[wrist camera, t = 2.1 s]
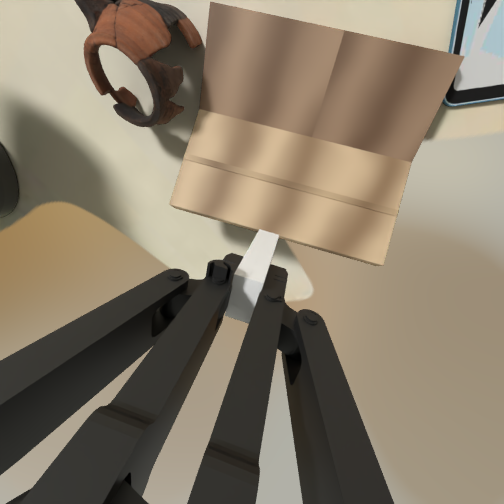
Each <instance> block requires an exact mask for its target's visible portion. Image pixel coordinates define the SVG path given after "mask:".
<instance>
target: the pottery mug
mask: <svg viewBox="0 0 504 504" xmlns="http://www.w3.org/2000/svg"><path fill="white" fill-rule="evenodd" d="M75 2H76V4H77V5H78V6H79V8H80V9H81V11H82V12H83V14H84V15H85V17H86V19H87V21H88V24H89V27H90V31H91V32H92V33H91V34H90V35H89V36H88V37H87V39H86V41H85V43H84V58H85V64H86V67H87V70H88V72H89V75H90V77H91V79H92V81H93V83H94V85H95V87H96V89H97V90H98V92H99V93H100V94H101V95H106V94H107V93H110V95H111V96H112V97H113V98H114V100H115V101H116V102H117V103H118V104H115V105H114V106H113V108H114V109H115V111H116V113H117V114H118V115H119V116H121V117H122V118H123V119H125V120H126V121H128V122H130V123H132V124H134V125H136V126H140V127H152V126H153V125H155V124H157V125H160V124H166V123H168V122H169V121H170V120H171V119H172V118H174V117H175V116H176V115H178V114H180V113H181V112H182V111H183V110H184V109H185V108H184V107H183V106H179V105H176V104H175V103H173V102H172V101H170V100H169V99H170V98H172V97H174V96H175V94H176V93H177V91H178V88H179V86H180V84H181V83H182V82H183V79H184V78H183V70H182V67H181V66H174V67H170V66H169V65H167V64H163V63H161V62H158V61H157V60H155V59H153V58H152V56H153V55H154V54H155V53H156V52H157V51H159V50H161V49H162V48H166V47H168V46H169V45H170V42H171V34H170V32H169V30H168V29H170V27H171V26H172V25H177V27H178V28H179V30H180V31H181V32H182V34H183V36H184V37H185V39H186V41H187V43H188V44H189V46H190V48H192V49H193V48H195V47H197V45H201V44H202V40H201V38H200V36H199V33H198V31H197V30H196V28H195V26H194V25H193V24H192V22H191V21H190V20H189V19H188V18H187V16H186V15H185V14H184V13H183V12H181V11H180V10H179V9H178V8H176V7H174V6H171V5H168V4H161V3H157V2H154V1H151V0H75ZM101 45H109V46H112V47H115V48H117V49H119V50H120V51H121V52H123V53H124V54H125V55H126V56H127V57H129V58H130V59H131V60H132V61H133V62H134V64H136V65H137V66H138V68H139V70H140V71H141V73H142V74H143V76H144V77H145V79H146V81H147V83H148V85H149V88H150V91H151V93H152V97H153V103H154V108H153V112H152V114H151V115H150V116H144V115H143V114H142V113H141V112H140V111H138V109H137V108H135V106H136V102H137V98H136V97H135V96H134V95H133V94H132V93H131V92H130V91H129V90H127V89H126V88H125V87H121V88H119V90H118V91H115V90H114V88H113V87H112V86H111V84H110V82H109V81H108V79H107V77H106V75H105V73H104V70H103V68H102V65H101V62H100V58H99V53H98V50H99V47H100V46H101Z"/></svg>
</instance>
